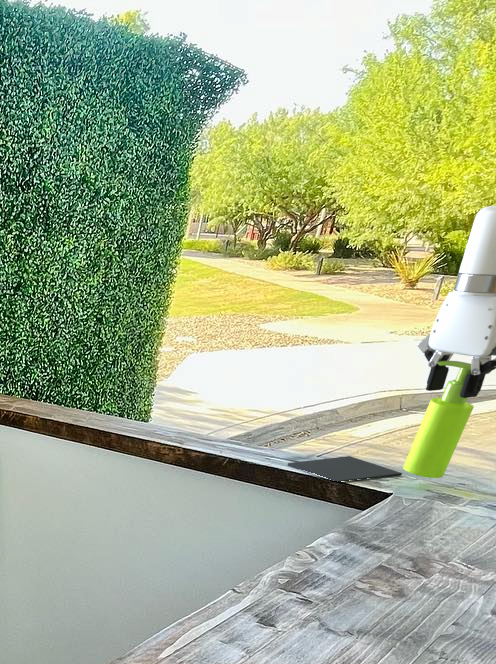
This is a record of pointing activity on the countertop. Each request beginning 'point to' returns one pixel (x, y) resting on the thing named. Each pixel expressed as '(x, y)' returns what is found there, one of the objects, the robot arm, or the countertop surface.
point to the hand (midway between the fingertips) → (451, 392)
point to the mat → (344, 468)
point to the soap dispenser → (440, 428)
